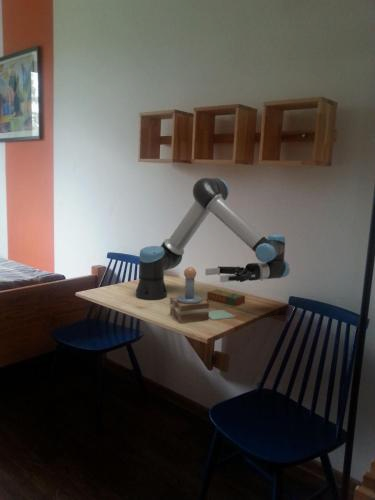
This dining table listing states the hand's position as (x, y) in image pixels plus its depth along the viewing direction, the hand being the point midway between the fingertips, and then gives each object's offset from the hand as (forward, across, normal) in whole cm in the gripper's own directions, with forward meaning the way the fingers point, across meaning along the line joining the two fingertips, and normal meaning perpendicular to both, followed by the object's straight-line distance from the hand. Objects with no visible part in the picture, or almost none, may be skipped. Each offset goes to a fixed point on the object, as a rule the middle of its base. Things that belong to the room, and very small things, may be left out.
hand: (212, 275), depth 175 cm
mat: (-2, -2, -17) cm, 17 cm away
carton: (-15, +15, -18) cm, 28 cm away
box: (+10, 0, -17) cm, 20 cm away
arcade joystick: (+10, 0, -10) cm, 14 cm away
